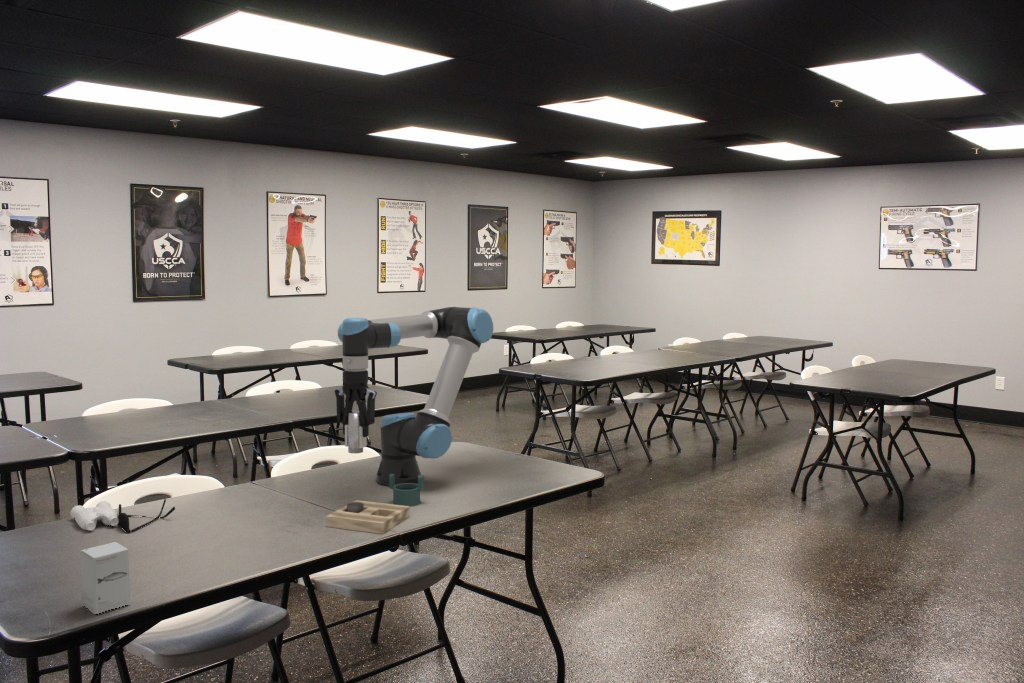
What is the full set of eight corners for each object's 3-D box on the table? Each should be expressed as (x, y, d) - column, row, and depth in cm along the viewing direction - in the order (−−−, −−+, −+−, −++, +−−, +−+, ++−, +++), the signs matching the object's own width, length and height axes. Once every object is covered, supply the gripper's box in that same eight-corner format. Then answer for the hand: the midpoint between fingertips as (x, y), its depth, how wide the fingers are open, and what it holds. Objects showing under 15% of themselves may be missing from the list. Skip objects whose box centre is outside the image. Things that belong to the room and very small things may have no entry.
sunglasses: (179, 525, 218) (178, 508, 218) (122, 535, 210) (121, 517, 209) (167, 510, 232) (167, 494, 231) (114, 519, 224) (113, 502, 223)
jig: (356, 509, 232) (355, 495, 232) (409, 516, 226) (409, 501, 226) (326, 526, 217) (326, 511, 217) (383, 534, 211) (382, 518, 211)
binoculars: (110, 513, 229) (109, 498, 228) (123, 527, 216) (123, 511, 216) (70, 520, 222) (69, 505, 222) (81, 535, 210) (81, 519, 209)
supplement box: (95, 616, 161) (92, 558, 160) (82, 606, 166) (79, 549, 164) (131, 605, 166) (129, 548, 165) (117, 595, 171) (115, 540, 170)
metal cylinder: (353, 449, 235) (353, 410, 234) (365, 450, 234) (365, 411, 233) (345, 452, 231) (345, 413, 230) (357, 454, 229) (357, 414, 228)
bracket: (425, 504, 238) (425, 475, 237) (397, 508, 233) (397, 479, 233) (414, 497, 246) (414, 469, 245) (387, 501, 241) (386, 473, 240)
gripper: (323, 369, 230) (324, 446, 232) (373, 372, 224) (374, 451, 225) (338, 366, 237) (338, 441, 239) (387, 369, 230) (387, 446, 232)
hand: (355, 446), depth 232 cm, fingers closed on metal cylinder, 4 cm apart
